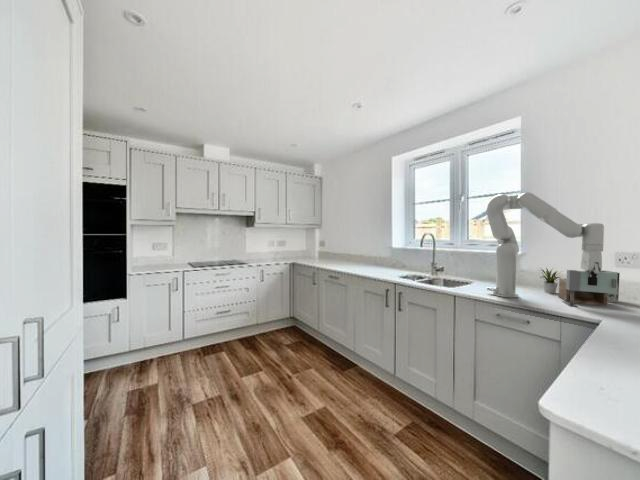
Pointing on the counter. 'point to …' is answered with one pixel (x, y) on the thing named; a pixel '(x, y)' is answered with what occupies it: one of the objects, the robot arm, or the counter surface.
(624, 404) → the counter surface
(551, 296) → the counter surface
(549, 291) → the house plant
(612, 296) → the coffee box
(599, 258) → the robot arm
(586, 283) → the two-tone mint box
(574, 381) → the counter surface
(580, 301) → the cabinet
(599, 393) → the counter surface
